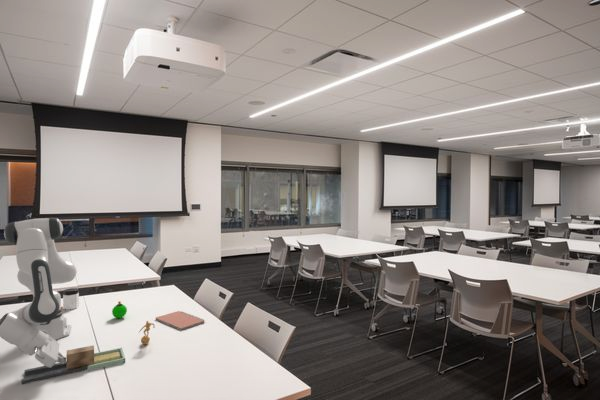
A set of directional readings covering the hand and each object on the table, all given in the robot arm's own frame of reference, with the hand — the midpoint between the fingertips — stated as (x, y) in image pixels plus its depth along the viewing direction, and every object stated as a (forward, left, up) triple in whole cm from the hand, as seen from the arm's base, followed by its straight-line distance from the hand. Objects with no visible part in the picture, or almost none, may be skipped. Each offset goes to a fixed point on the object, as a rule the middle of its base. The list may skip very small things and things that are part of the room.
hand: (64, 361), depth 152 cm
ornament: (-66, +10, -5) cm, 67 cm away
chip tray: (-4, +15, -5) cm, 16 cm away
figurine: (-20, +30, -5) cm, 36 cm away
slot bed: (+1, -3, -5) cm, 5 cm away
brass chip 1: (-3, +13, -4) cm, 14 cm away
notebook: (-50, +45, -5) cm, 68 cm away
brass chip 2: (-5, +18, -4) cm, 18 cm away
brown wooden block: (-1, +5, -3) cm, 7 cm away
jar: (-96, -24, -5) cm, 99 cm away
